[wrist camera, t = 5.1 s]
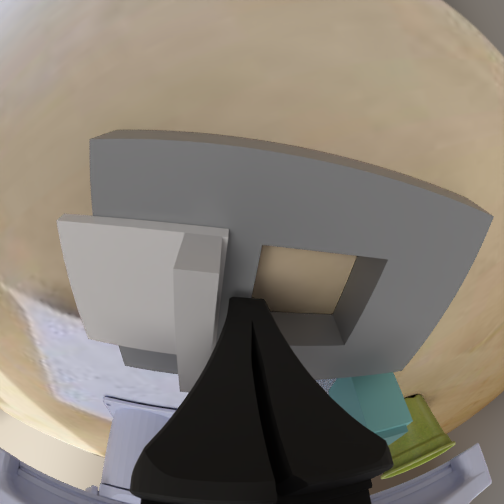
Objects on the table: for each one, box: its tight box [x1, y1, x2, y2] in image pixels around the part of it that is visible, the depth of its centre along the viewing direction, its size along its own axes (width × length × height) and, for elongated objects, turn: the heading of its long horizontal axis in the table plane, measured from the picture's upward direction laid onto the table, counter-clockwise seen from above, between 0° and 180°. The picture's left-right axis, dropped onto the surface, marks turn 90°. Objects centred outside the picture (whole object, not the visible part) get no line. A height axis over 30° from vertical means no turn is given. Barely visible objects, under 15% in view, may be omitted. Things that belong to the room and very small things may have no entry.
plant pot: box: [381, 395, 456, 479], centre depth 22 cm, size 9×9×9 cm
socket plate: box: [90, 130, 494, 380], centre depth 12 cm, size 12×18×2 cm, turn 81°
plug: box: [328, 372, 413, 445], centre depth 17 cm, size 4×4×7 cm
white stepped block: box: [57, 214, 229, 392], centre depth 9 cm, size 6×6×3 cm
